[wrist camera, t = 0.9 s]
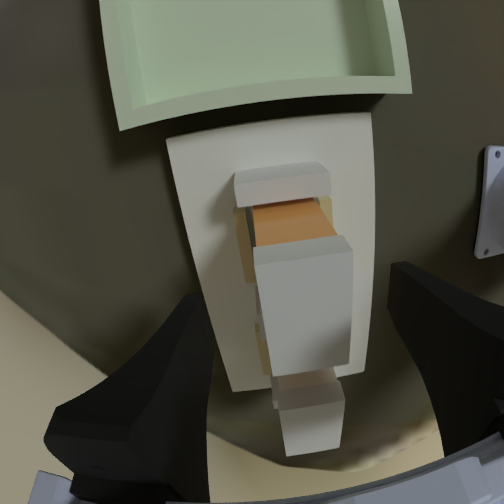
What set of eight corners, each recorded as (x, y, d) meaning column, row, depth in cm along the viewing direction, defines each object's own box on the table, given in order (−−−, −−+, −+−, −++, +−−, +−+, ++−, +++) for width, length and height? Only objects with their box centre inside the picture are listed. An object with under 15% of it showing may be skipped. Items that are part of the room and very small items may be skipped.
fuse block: (363, 111, 15) (392, 116, 12) (360, 362, 23) (373, 396, 20) (170, 136, 15) (151, 147, 12) (233, 382, 23) (232, 418, 20)
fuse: (317, 307, 19) (345, 399, 13) (319, 363, 21) (339, 447, 15) (268, 315, 19) (278, 411, 13) (276, 369, 21) (286, 456, 15)
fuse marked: (309, 187, 16) (353, 250, 9) (315, 273, 18) (348, 363, 12) (249, 195, 16) (254, 265, 9) (262, 280, 18) (273, 376, 12)
